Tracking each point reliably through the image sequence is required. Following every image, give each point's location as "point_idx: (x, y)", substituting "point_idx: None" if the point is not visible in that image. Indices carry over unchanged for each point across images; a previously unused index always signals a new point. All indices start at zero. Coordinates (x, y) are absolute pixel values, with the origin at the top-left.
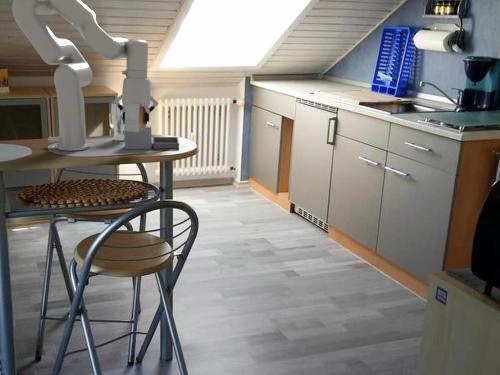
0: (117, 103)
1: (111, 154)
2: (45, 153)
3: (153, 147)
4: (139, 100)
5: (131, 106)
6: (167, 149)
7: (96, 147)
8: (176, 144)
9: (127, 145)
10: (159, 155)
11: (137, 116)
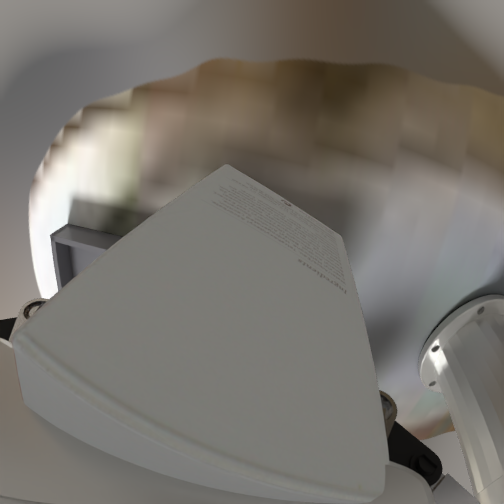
0: (444, 498)
1: (392, 193)
2: None
3: None
4: (14, 476)
5: (264, 402)
6: (106, 233)
7: (404, 340)
8: (61, 234)
9: None
10: (149, 113)
11: (187, 218)
